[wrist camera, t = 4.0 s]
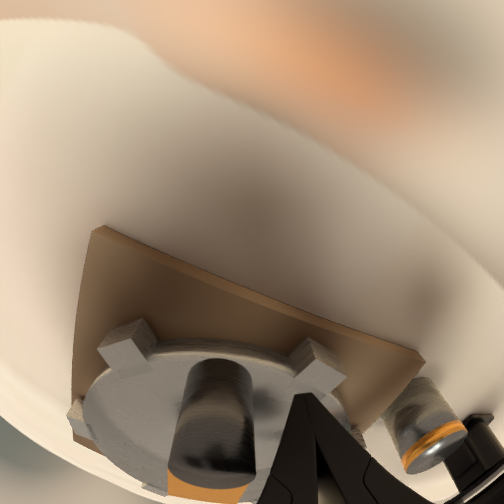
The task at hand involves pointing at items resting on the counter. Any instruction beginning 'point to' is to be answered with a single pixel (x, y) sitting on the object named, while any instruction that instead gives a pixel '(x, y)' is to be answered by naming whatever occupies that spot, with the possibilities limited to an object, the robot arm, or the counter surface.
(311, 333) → the sprocket base
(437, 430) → the roller
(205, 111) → the counter surface
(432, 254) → the counter surface
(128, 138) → the counter surface
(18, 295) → the counter surface
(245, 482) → the sprocket
